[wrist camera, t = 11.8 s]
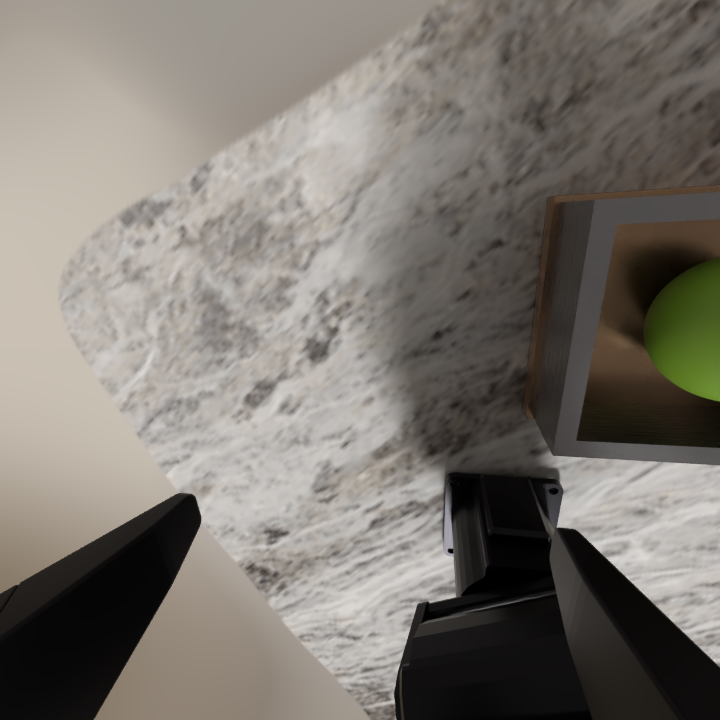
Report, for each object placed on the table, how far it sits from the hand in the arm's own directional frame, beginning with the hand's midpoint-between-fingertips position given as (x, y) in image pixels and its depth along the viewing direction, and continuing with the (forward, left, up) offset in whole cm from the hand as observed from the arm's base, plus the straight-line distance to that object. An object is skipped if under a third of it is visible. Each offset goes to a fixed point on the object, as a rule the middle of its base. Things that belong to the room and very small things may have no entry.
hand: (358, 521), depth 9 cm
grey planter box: (+2, -12, -12) cm, 17 cm away
